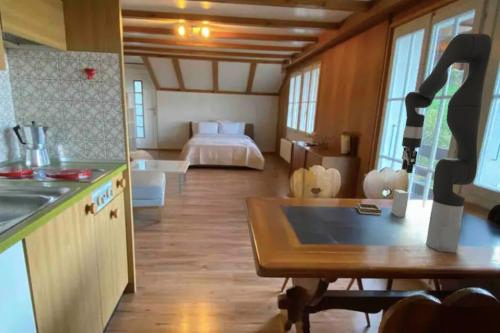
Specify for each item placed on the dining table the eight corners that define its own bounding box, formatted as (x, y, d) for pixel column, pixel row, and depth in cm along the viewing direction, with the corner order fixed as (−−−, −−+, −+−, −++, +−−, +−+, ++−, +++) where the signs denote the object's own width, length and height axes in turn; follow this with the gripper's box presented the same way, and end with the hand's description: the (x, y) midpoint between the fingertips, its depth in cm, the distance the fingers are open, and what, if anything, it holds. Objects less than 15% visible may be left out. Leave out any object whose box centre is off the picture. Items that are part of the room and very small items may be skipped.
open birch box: (380, 214, 136) (381, 210, 136) (360, 213, 138) (361, 208, 137) (375, 209, 145) (376, 204, 144) (356, 207, 146) (357, 203, 145)
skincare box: (405, 217, 134) (409, 193, 132) (396, 216, 134) (400, 192, 132) (399, 212, 140) (402, 189, 138) (390, 212, 140) (393, 189, 138)
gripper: (426, 138, 120) (420, 175, 123) (417, 135, 133) (411, 168, 137) (407, 137, 122) (401, 173, 125) (399, 134, 135) (394, 167, 139)
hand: (406, 170), depth 131 cm, fingers open, 8 cm apart
